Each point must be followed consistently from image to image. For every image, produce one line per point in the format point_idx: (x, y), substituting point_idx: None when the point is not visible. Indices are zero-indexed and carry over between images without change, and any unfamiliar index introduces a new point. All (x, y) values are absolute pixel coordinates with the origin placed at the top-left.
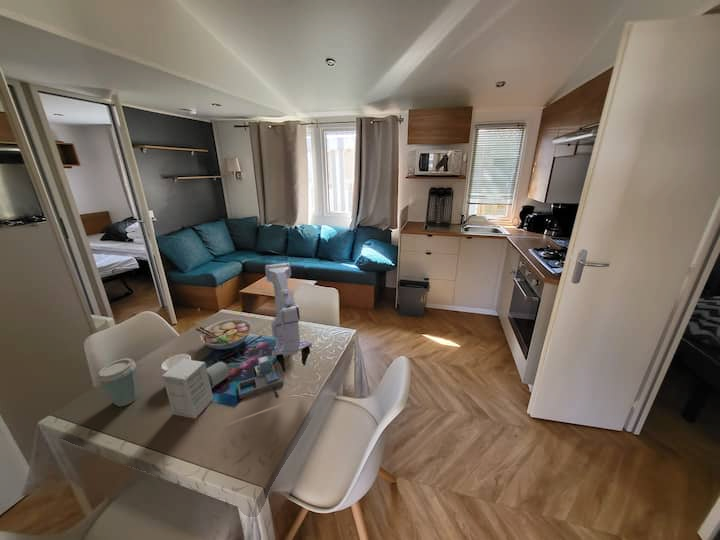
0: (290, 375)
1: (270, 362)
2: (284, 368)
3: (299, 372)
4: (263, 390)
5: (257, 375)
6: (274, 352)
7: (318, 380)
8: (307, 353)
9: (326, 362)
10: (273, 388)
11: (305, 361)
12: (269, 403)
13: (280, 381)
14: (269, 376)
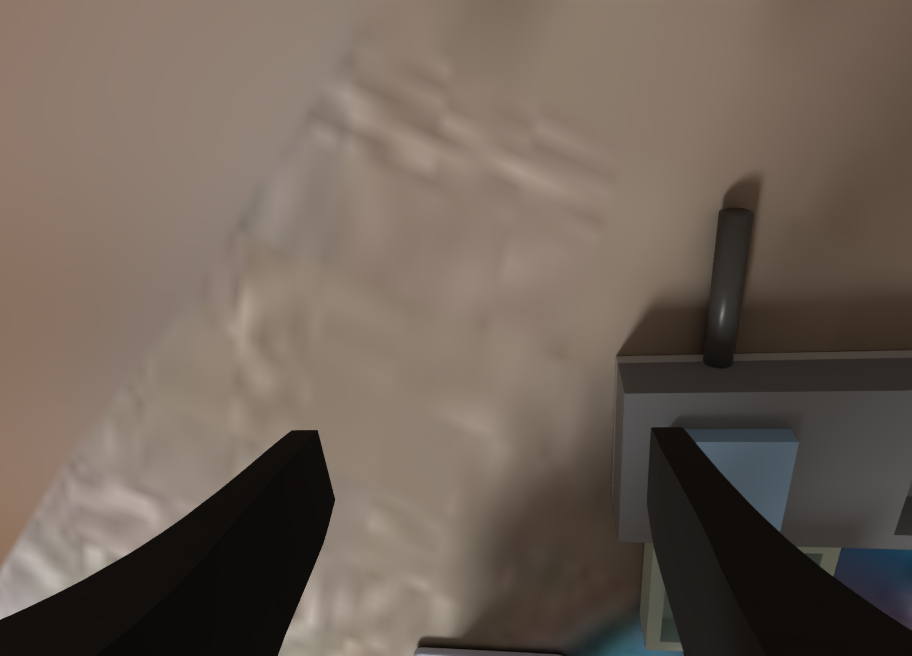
0: (515, 451)
1: (658, 648)
2: (686, 472)
3: (425, 452)
4: (845, 364)
5: (833, 561)
6: None
7: (258, 284)
8: (12, 647)
9: (165, 466)
10: (733, 351)
11: (241, 479)
12: (840, 171)
13: (653, 393)
14: (750, 498)
